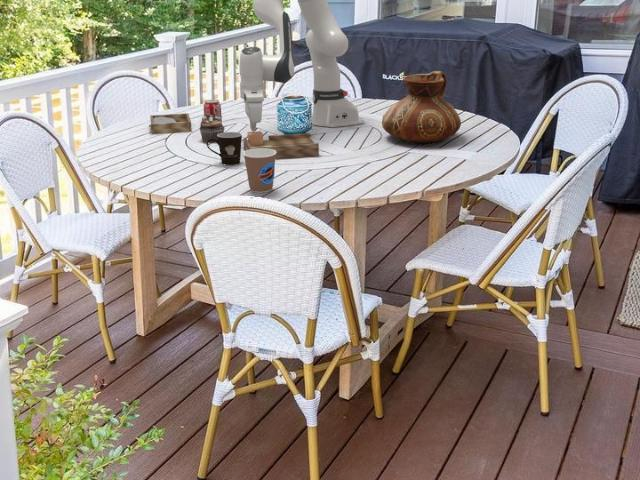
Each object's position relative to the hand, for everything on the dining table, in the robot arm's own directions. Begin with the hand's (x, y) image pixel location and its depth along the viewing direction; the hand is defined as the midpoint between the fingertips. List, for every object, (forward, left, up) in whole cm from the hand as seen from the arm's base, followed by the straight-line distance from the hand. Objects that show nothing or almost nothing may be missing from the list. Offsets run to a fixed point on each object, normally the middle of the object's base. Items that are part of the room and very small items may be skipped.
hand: (253, 130), depth 297 cm
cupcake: (+14, -14, -7) cm, 21 cm away
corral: (+29, -40, -6) cm, 50 cm away
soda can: (+12, -32, -7) cm, 35 cm away
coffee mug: (+12, +20, -7) cm, 24 cm away
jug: (-64, +6, -7) cm, 64 cm away
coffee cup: (+5, +55, -7) cm, 55 cm away
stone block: (+31, -41, -7) cm, 52 cm away
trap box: (-8, +11, -6) cm, 15 cm away
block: (0, +8, -3) cm, 9 cm away
